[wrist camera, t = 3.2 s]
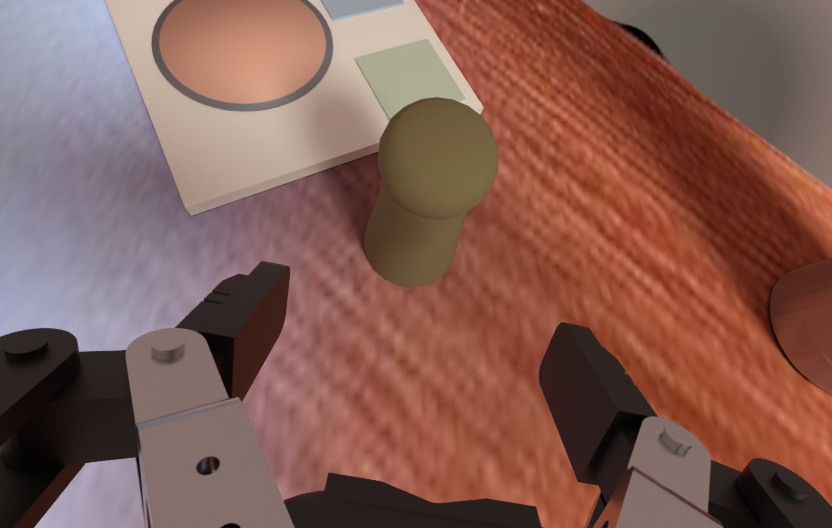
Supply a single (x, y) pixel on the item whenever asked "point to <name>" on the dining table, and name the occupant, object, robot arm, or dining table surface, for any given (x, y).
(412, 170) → the olive pawn
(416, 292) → the dining table surface
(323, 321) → the dining table surface
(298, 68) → the picture board
